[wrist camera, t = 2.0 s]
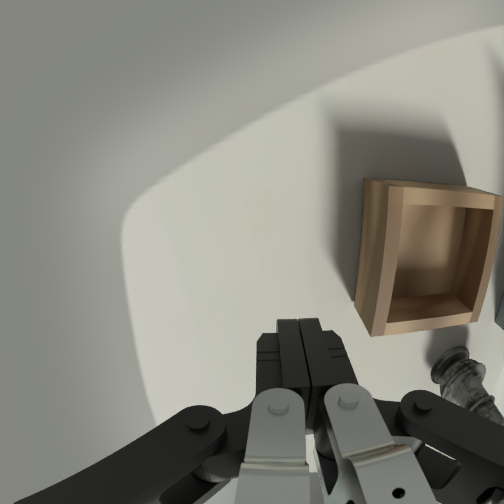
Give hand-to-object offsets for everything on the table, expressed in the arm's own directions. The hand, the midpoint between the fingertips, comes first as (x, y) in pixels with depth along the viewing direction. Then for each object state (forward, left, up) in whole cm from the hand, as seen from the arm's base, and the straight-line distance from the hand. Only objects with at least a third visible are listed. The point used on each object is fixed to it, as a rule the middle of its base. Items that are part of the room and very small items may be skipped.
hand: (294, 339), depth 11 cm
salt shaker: (-19, +14, -12) cm, 27 cm away
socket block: (-11, 0, -11) cm, 16 cm away
